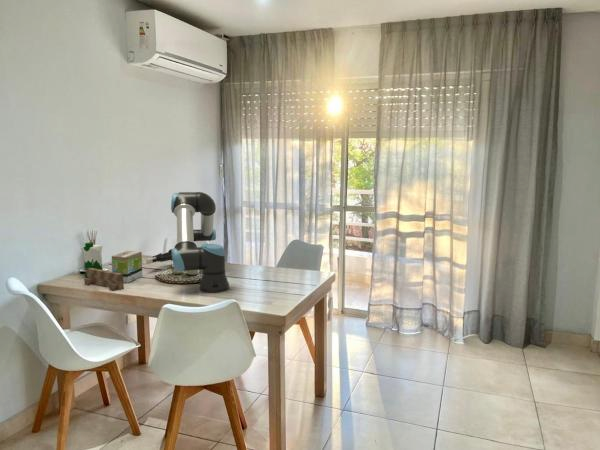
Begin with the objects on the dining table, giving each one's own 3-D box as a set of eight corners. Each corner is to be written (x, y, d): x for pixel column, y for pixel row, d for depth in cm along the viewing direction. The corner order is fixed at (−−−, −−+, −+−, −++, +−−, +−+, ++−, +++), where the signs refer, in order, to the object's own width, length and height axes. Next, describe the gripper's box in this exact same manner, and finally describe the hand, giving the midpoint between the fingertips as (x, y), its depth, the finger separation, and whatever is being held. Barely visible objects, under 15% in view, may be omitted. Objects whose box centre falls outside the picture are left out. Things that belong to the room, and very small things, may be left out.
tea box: (128, 283, 257) (127, 256, 254) (112, 282, 259) (110, 256, 256) (143, 276, 271) (141, 251, 269) (127, 275, 273) (125, 250, 271)
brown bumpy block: (123, 288, 247) (122, 273, 246) (115, 291, 242) (114, 276, 241) (91, 281, 260) (90, 267, 258) (82, 284, 255) (81, 269, 254)
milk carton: (82, 277, 268) (79, 243, 265) (94, 274, 276) (92, 240, 273) (94, 279, 265) (91, 244, 261) (106, 275, 273) (104, 241, 270)
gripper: (184, 261, 294) (155, 269, 274) (169, 258, 300) (139, 266, 280) (183, 249, 293) (154, 256, 272) (168, 247, 299) (139, 254, 279)
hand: (147, 261), depth 276 cm, fingers closed
